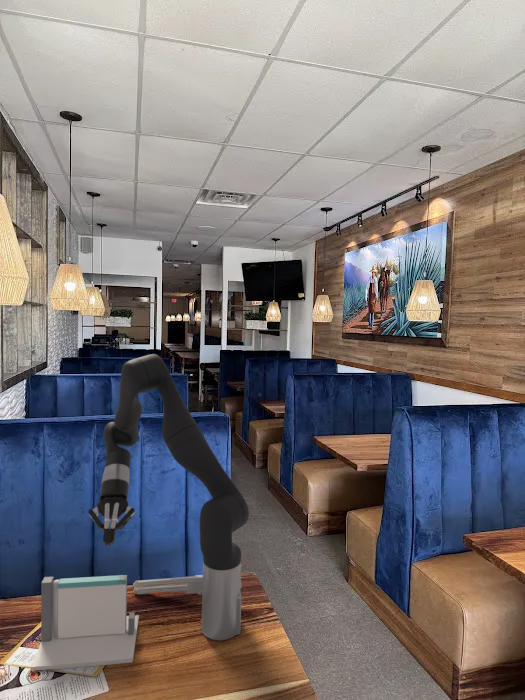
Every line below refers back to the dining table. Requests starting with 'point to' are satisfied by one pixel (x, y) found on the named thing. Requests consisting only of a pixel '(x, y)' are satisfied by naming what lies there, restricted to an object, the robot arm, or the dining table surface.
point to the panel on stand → (80, 641)
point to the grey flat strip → (192, 587)
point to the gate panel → (89, 606)
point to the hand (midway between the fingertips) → (108, 544)
